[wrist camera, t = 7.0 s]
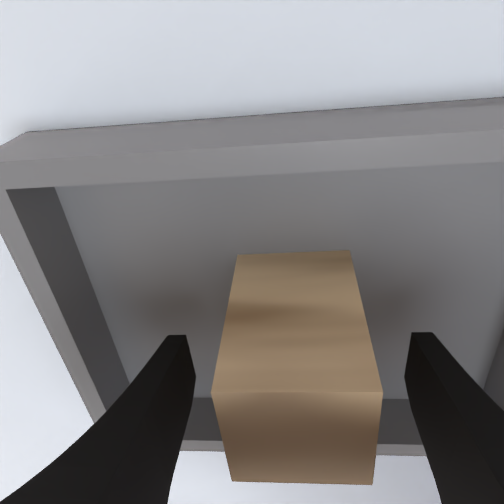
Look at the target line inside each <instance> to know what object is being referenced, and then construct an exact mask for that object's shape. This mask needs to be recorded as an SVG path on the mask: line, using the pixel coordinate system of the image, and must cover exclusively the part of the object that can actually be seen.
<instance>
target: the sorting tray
mask: <svg viewBox="0 0 504 504" xmlns="http://www.w3.org/2000/svg"><path fill="white" fill-rule="evenodd" d="M0 234H1V236H2V238H3V240H4V242H5V244H6V246H7V248H8V250H9V252H10V254H11V256H12V258H13V260H14V262H15V264H16V266H17V268H18V270H19V272H20V274H21V276H22V278H23V280H24V282H25V284H26V286H27V288H28V290H29V292H30V294H31V296H32V298H33V300H34V302H35V305H36V307H37V309H38V311H39V313H40V315H41V317H42V319H43V321H44V323H45V325H46V327H47V329H48V331H49V333H50V335H51V337H52V339H53V341H54V343H55V345H56V347H57V349H58V351H59V353H60V355H61V357H62V359H63V361H64V363H65V365H66V367H67V369H68V371H69V373H70V375H71V377H72V379H73V382H74V384H75V386H76V388H77V390H78V392H79V394H80V396H81V398H82V400H83V402H84V404H85V406H86V408H87V410H88V412H89V414H90V416H91V418H92V420H93V422H94V423H95V422H96V421H97V420H98V419H99V418H100V417H101V416H102V415H103V414H104V413H105V412H106V411H107V410H108V409H109V408H110V407H111V405H112V404H113V403H114V402H115V401H116V400H117V399H118V397H119V396H120V395H121V394H122V393H123V392H124V391H125V389H126V388H127V387H128V386H129V385H130V383H131V382H132V381H133V380H134V378H135V377H136V376H137V375H138V373H139V372H140V371H141V370H142V368H143V367H144V366H145V365H146V363H147V362H148V361H149V359H150V358H151V357H152V355H153V354H154V353H155V351H156V350H157V349H158V347H159V346H160V345H161V343H162V342H163V341H164V339H165V338H166V337H167V336H168V335H186V336H187V341H188V345H189V349H190V353H191V357H192V361H193V365H194V369H195V373H196V382H195V389H194V396H193V402H192V407H191V411H190V415H189V419H188V422H187V426H186V430H185V433H184V437H183V441H182V444H181V448H180V451H219V452H225V450H224V446H223V441H222V437H221V433H220V429H219V425H218V420H217V416H216V412H215V408H214V403H213V399H212V395H211V389H212V384H213V379H214V374H215V368H216V363H217V358H218V353H219V348H220V343H221V338H222V332H223V327H224V322H225V317H226V312H227V307H228V302H229V296H230V291H231V286H232V281H233V276H234V271H235V265H236V260H237V255H245V254H269V253H293V252H316V251H340V250H350V254H351V258H352V262H353V267H354V271H355V275H356V279H357V284H358V288H359V292H360V296H361V301H362V305H363V309H364V313H365V317H366V322H367V326H368V330H369V334H370V339H371V343H372V347H373V351H374V356H375V360H376V364H377V368H378V373H379V377H380V381H381V385H382V389H383V398H382V406H381V415H380V424H379V432H378V441H377V449H376V455H397V456H427V455H426V452H425V449H424V446H423V443H422V440H421V437H420V435H419V432H418V429H417V426H416V423H415V420H414V417H413V414H412V411H411V407H410V403H409V398H408V394H407V389H406V384H405V379H404V374H405V368H406V362H407V356H408V350H409V344H410V338H411V332H433V333H434V334H435V335H436V337H437V338H438V339H439V340H440V341H441V343H442V344H443V345H444V346H445V347H446V349H447V350H448V351H449V352H450V353H451V355H452V356H453V357H454V358H455V359H456V360H457V362H458V363H459V364H460V365H461V366H462V367H463V368H464V370H465V371H466V372H467V373H468V374H469V375H470V376H471V377H472V378H473V379H474V381H475V382H476V383H477V384H478V385H479V386H480V387H481V388H482V389H483V390H484V391H485V392H486V393H487V394H488V395H489V396H490V397H491V398H492V400H493V401H494V402H495V403H496V404H497V405H498V406H499V407H501V408H502V409H503V410H504V97H501V98H487V99H473V100H459V101H446V102H432V103H418V104H405V105H391V106H377V107H364V108H350V109H336V110H323V111H309V112H295V113H281V114H268V115H254V116H240V117H227V118H213V119H199V120H186V121H172V122H158V123H145V124H131V125H117V126H103V127H90V128H76V129H62V130H49V131H35V132H25V133H24V134H22V135H20V136H18V137H16V138H14V139H12V140H10V141H9V142H7V143H5V144H3V145H1V146H0Z"/></svg>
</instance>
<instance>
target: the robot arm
mask: <svg viewBox="0 0 504 504" xmlns="http://www.w3.org/2000/svg"><path fill="white" fill-rule="evenodd" d="M404 379H405V384H406V389H407V394H408V398H409V403H410V407H411V411H412V414H413V417H414V420H415V423H416V426H417V429H418V432H419V435H420V437H421V440H422V443H423V446H424V449H425V452H426V455H427V458H428V461H429V464H430V467H431V470H432V472H433V475H434V478H435V481H436V485H437V488H438V491H439V495H440V498H441V503H442V504H504V410H503V409H502V408H501V407H499V406H498V405H497V404H496V403H495V402H494V401H493V400H492V398H491V397H490V396H489V395H488V394H487V393H486V392H485V391H484V390H483V389H482V388H481V387H480V386H479V385H478V384H477V383H476V382H475V381H474V379H473V378H472V377H471V376H470V375H469V374H468V373H467V372H466V371H465V370H464V368H463V367H462V366H461V365H460V364H459V363H458V362H457V360H456V359H455V358H454V357H453V356H452V355H451V353H450V352H449V351H448V350H447V349H446V347H445V346H444V345H443V344H442V343H441V341H440V340H439V339H438V338H437V337H436V335H435V334H434V333H433V332H411V338H410V344H409V350H408V356H407V362H406V368H405V374H404ZM195 382H196V373H195V369H194V365H193V361H192V357H191V353H190V349H189V345H188V341H187V336H186V335H168V336H167V337H166V338H165V339H164V341H163V342H162V343H161V345H160V346H159V347H158V349H157V350H156V351H155V353H154V354H153V355H152V357H151V358H150V359H149V361H148V362H147V363H146V365H145V366H144V367H143V368H142V370H141V371H140V372H139V373H138V375H137V376H136V377H135V378H134V380H133V381H132V382H131V383H130V385H129V386H128V387H127V388H126V389H125V391H124V392H123V393H122V394H121V395H120V396H119V397H118V399H117V400H116V401H115V402H114V403H113V404H112V405H111V407H110V408H109V409H108V410H107V411H106V412H105V413H104V414H103V415H102V416H101V417H100V418H99V419H98V420H97V421H96V422H95V423H94V424H93V425H92V426H91V427H90V428H89V429H88V430H87V431H86V432H85V433H84V434H83V435H82V436H81V437H80V438H79V439H78V440H77V441H76V442H75V443H74V444H72V445H71V446H70V447H69V448H68V449H67V450H66V451H65V452H64V453H62V454H61V455H60V456H59V457H58V458H57V459H55V460H54V461H53V462H52V463H51V464H50V465H48V466H47V467H46V468H44V469H43V470H42V471H41V472H39V473H38V474H37V475H36V476H34V477H33V478H32V479H31V480H29V481H28V482H27V483H25V484H24V485H23V486H21V487H20V488H19V489H17V490H16V491H15V492H13V493H12V494H11V495H9V496H8V497H6V498H5V499H3V500H2V501H0V504H167V502H168V497H169V491H170V486H171V482H172V478H173V473H174V470H175V466H176V462H177V459H178V455H179V451H180V448H181V444H182V441H183V437H184V433H185V430H186V426H187V422H188V419H189V415H190V411H191V407H192V402H193V396H194V389H195Z"/></svg>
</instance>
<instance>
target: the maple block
mask: <svg viewBox="0 0 504 504" xmlns="http://www.w3.org/2000/svg"><path fill="white" fill-rule="evenodd" d="M211 395H212V399H213V403H214V408H215V412H216V416H217V420H218V425H219V429H220V433H221V437H222V441H223V446H224V450H225V454H226V458H227V462H228V467H229V471H230V475H231V479H232V481H237V482H276V483H315V484H354V485H372V484H373V475H374V467H375V458H376V449H377V441H378V432H379V424H380V415H381V406H382V398H383V389H382V385H381V381H380V377H379V373H378V368H377V364H376V360H375V356H374V351H373V347H372V343H371V339H370V334H369V330H368V326H367V322H366V317H365V313H364V309H363V305H362V301H361V296H360V292H359V288H358V284H357V279H356V275H355V271H354V267H353V262H352V258H351V254H350V250H340V251H316V252H293V253H269V254H245V255H237V260H236V265H235V271H234V276H233V281H232V286H231V291H230V296H229V302H228V307H227V312H226V317H225V322H224V327H223V332H222V338H221V343H220V348H219V353H218V358H217V363H216V368H215V374H214V379H213V384H212V389H211Z"/></svg>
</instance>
